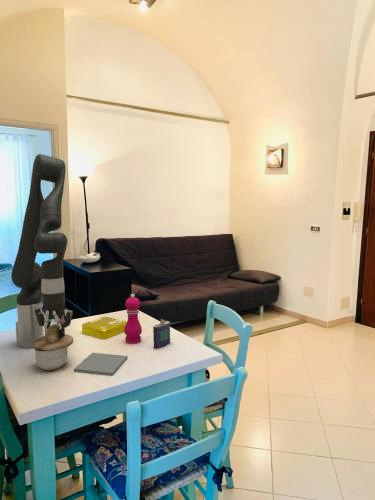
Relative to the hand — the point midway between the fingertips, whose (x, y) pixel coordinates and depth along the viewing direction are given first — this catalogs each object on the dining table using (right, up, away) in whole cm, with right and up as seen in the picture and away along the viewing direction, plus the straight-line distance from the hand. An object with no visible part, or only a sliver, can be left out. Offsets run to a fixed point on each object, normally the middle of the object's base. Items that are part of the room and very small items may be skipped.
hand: (55, 337), depth 131 cm
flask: (+36, -8, +19) cm, 42 cm away
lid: (0, -2, 0) cm, 2 cm away
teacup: (0, -10, +1) cm, 10 cm away
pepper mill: (+24, -7, +24) cm, 34 cm away
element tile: (+10, -6, +35) cm, 37 cm away
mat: (+16, -10, +1) cm, 19 cm away
